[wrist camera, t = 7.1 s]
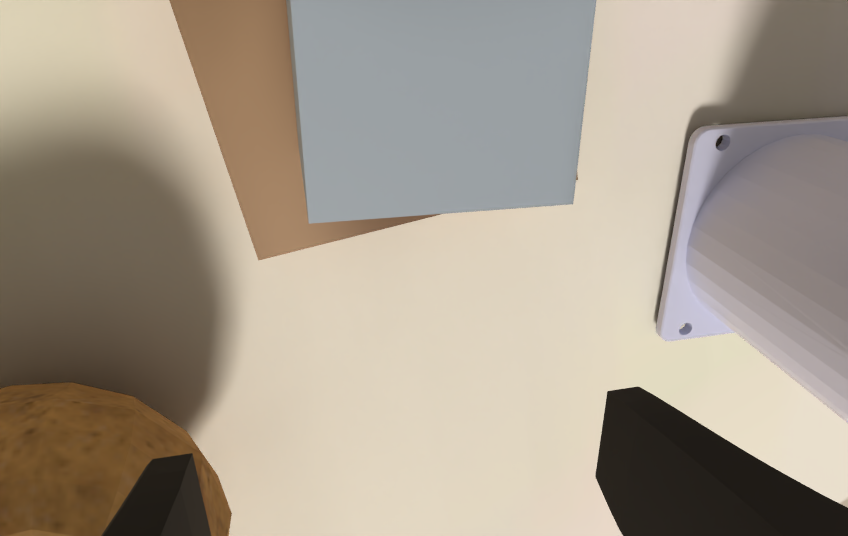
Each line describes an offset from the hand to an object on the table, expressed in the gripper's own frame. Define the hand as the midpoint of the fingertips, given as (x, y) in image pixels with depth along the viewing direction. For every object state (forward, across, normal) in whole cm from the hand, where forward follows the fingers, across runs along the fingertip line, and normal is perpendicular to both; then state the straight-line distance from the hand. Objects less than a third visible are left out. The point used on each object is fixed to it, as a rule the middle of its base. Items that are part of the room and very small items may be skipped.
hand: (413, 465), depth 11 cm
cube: (+7, -1, -6) cm, 10 cm away
